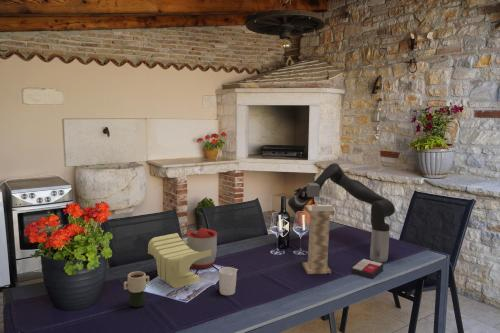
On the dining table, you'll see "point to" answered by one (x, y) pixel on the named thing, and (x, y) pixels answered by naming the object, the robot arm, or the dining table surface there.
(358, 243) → the dining table surface
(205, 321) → the dining table surface
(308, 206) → the pedestal column stand
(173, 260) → the slatted curved stool
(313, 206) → the power strip
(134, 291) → the character mug
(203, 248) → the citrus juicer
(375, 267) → the black red flat box
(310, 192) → the charger
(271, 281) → the dining table surface
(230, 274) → the white cup
